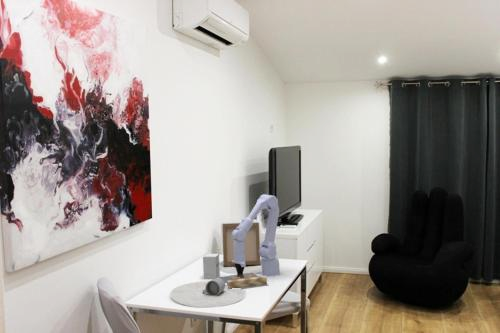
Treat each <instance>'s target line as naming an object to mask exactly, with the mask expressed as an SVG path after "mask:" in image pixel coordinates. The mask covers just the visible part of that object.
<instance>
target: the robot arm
mask: <svg viewBox="0 0 500 333" xmlns="http://www.w3.org/2000/svg"><path fill="white" fill-rule="evenodd" d="M262 210H267V212H268V215H267V216H268V217H267V222H266V230H265V234H264V239H263V241H262V242H261V243H260V248H259V254H260V265H261V272H259V275H260V276H266V277H273V276H274V277H275V276H280V275H281V272H280V261H279V259H278V257H277V254H278V253H277V244H276V243H275V240H276V232H277V228H278V221H279V216H280V206H279V200H278V198H277V196H275V195H271V194H266V193H265V194H261V195H259V198H258V199H256V204H254V206H253V208H252V210H251V211H250V212H249V214H248V216H247V217H244V218H242V219H241V220H240V221H241V222H239V223H240V225H239V226H238V227H237V229H235V230H234V231H233V232H232V235H231V237H232V239H233V243H234V260H233V261H232V262H233V263H237V264H234V265H233V266H234V268H235V271H236V275H237V274H244V270H245V268H246V266H247V265H245V250H244V239H245V238H246V234H247V232H248V230H249V229H250V228H251V226H252V225H253V223H254V221H255V219H256V217H257V216H258V215H259V214H260V213H261V211H262Z"/></svg>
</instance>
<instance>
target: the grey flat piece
mask: <svg viewBox="0 0 500 333" xmlns="http://www.w3.org/2000/svg"><path fill="white" fill-rule="evenodd" d="M252 273H253V272H248V273H243V274H237V273H236V274H231V275H229V276H230V280H236V277H240V279H244V278H251V275H253V274H252ZM256 276H257V275H256ZM256 276H255V277H256Z"/></svg>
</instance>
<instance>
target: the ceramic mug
mask: <svg viewBox="0 0 500 333" xmlns="http://www.w3.org/2000/svg"><path fill="white" fill-rule="evenodd" d="M225 287H226V285H225V283H224V281H223V280H222V279H221V278H215V279H210V280H209V281H207V283H206V284H205V289H203V290H202V293H203V294H204V293H205V294H208V296H212V295H213V294H215V295H214V296H219V295H220V294H221V293H222V292H223V291H224V290H225ZM212 293H213V294H212Z"/></svg>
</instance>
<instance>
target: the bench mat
mask: <svg viewBox="0 0 500 333" xmlns="http://www.w3.org/2000/svg"><path fill="white" fill-rule="evenodd" d="M251 273H252V274H253V275H255V276H256V277H259V276H258V275H256V274H255V272H251ZM218 278H221V279H222V280H223V281H224V283H227V281H229V280H230V275H225V276H219V277H218ZM268 286H269V284H268V283H267V284H264V285H257V286H249V287H242V288H241V289H240V290H246V289H252V288H261V287H268Z"/></svg>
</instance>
